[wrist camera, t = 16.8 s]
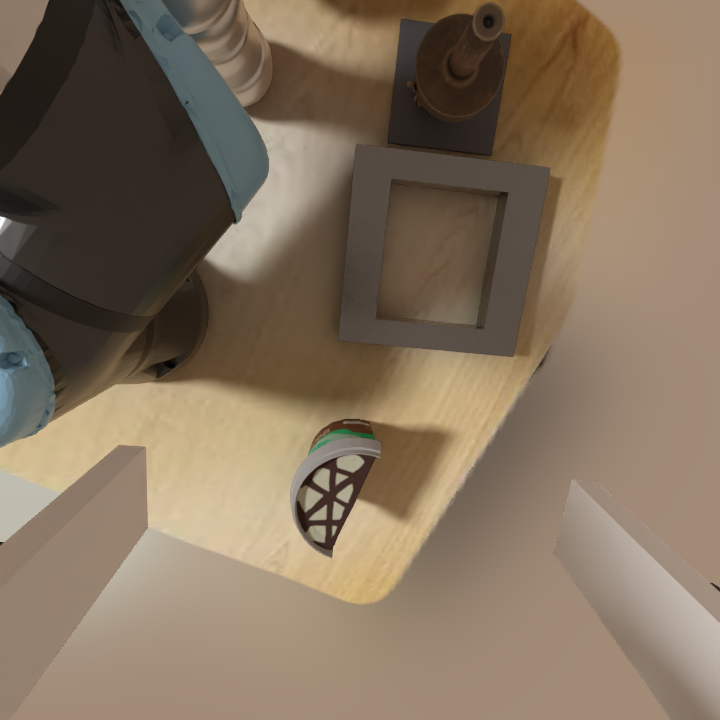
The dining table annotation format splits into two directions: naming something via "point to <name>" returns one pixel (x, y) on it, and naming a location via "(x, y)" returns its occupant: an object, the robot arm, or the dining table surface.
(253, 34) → the plastic bottle
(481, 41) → the industrial component
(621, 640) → the robot arm
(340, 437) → the food container
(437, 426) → the dining table surface
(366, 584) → the dining table surface
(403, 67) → the rubber mat
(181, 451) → the dining table surface
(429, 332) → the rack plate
